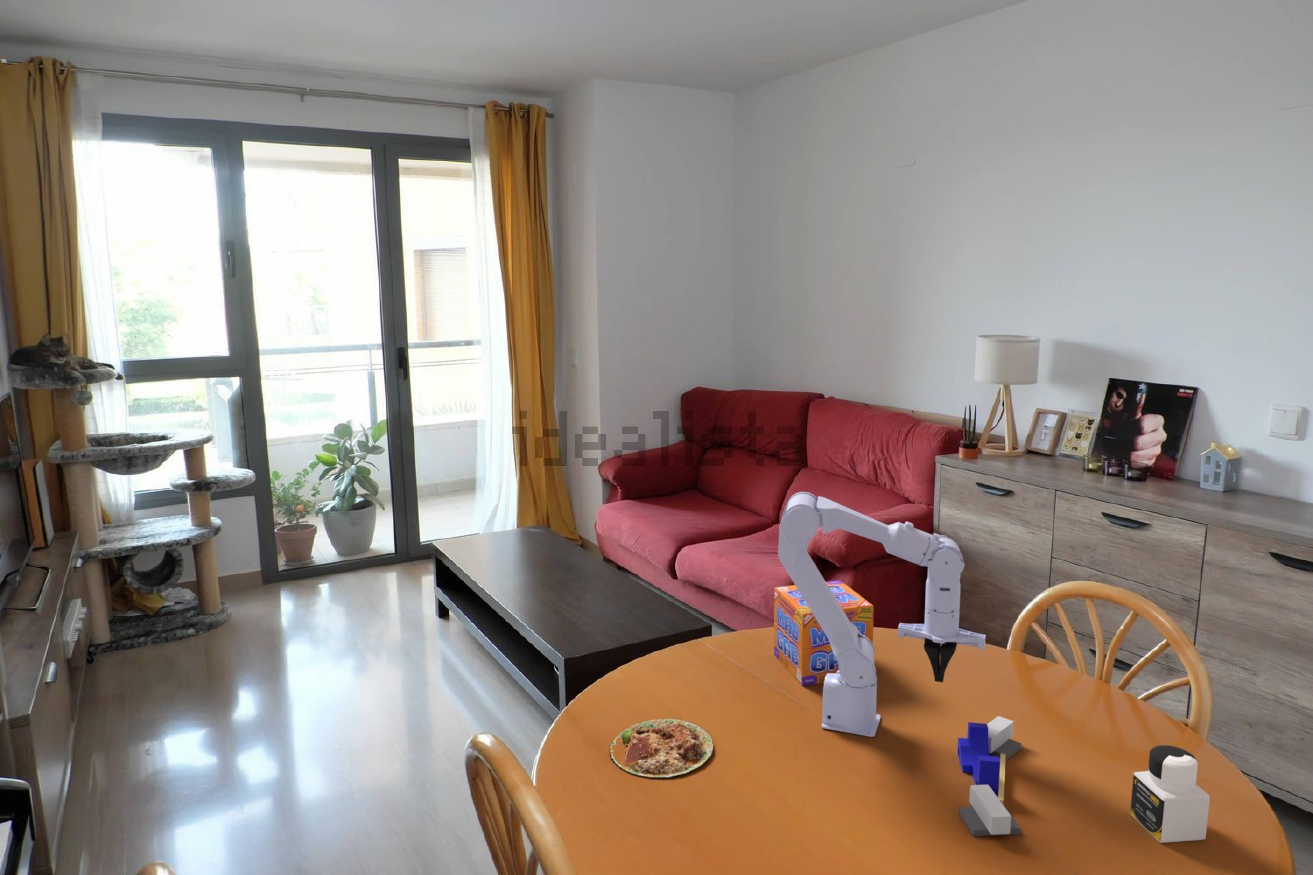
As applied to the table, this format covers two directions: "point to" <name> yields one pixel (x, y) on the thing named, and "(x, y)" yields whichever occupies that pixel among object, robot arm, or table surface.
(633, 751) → the food
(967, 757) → the blue piece
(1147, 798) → the medicine bottle
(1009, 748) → the shaft rig
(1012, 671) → the table surface
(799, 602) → the game box
